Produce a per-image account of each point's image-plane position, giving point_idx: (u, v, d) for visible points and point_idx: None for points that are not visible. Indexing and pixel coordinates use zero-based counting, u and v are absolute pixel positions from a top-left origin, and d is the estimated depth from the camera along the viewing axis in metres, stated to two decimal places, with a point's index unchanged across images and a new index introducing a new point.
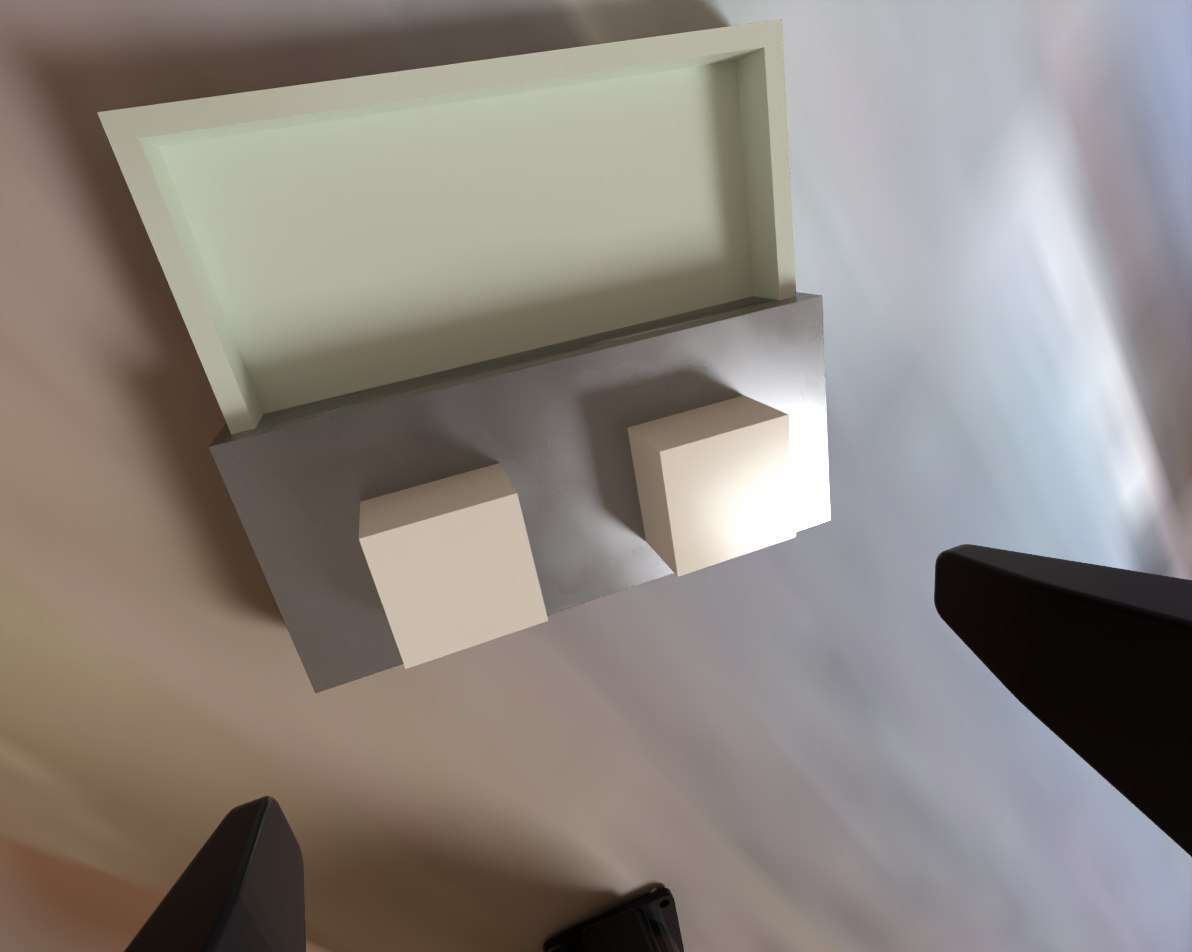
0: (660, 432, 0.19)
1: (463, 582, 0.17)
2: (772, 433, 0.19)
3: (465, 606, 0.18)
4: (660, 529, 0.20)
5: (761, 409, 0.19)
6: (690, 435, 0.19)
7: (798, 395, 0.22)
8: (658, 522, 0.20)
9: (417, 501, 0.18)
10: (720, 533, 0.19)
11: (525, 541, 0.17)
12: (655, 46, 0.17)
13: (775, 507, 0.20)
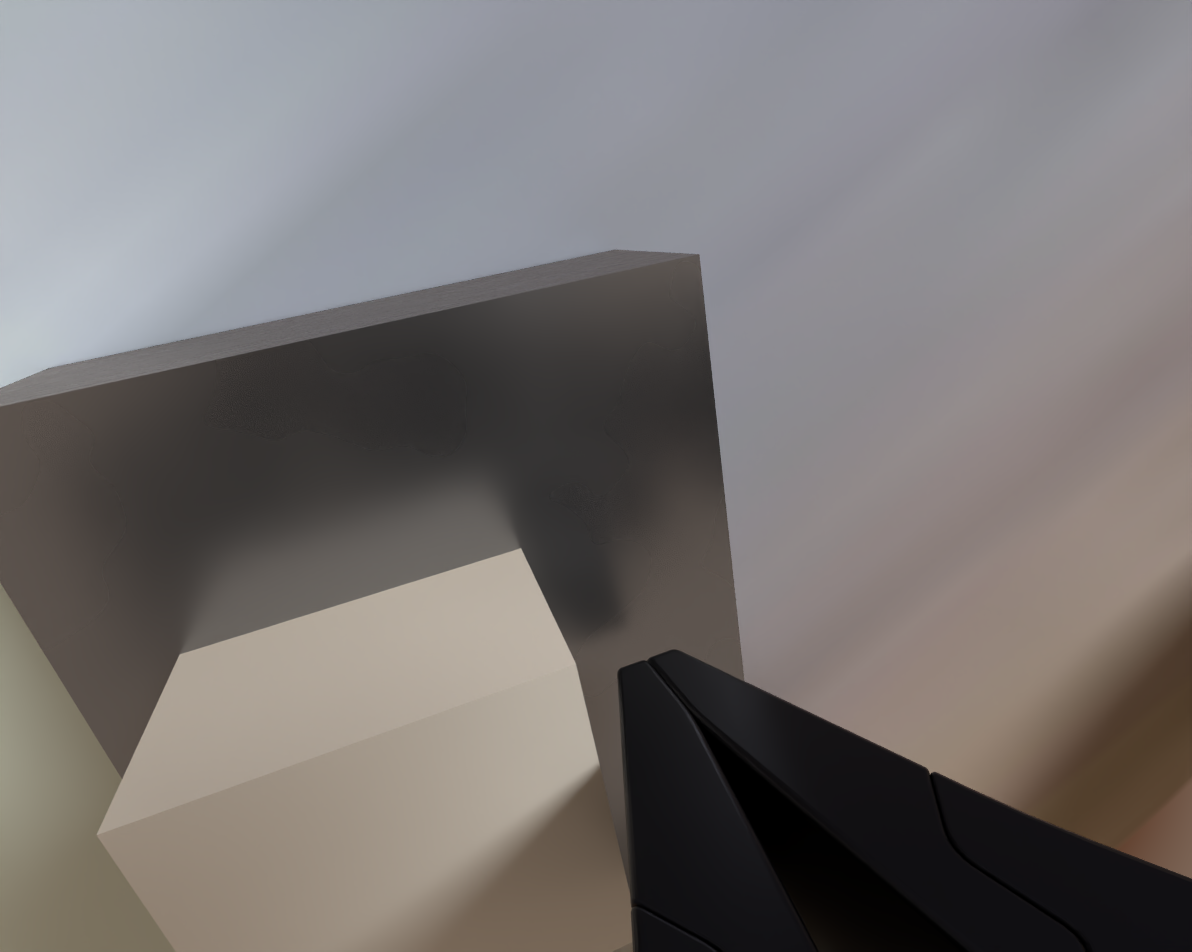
0: None
1: None
2: (184, 861, 0.05)
3: None
4: None
5: None
6: None
7: (289, 445, 0.07)
8: None
9: None
10: (532, 888, 0.07)
11: None
12: None
13: (462, 764, 0.06)
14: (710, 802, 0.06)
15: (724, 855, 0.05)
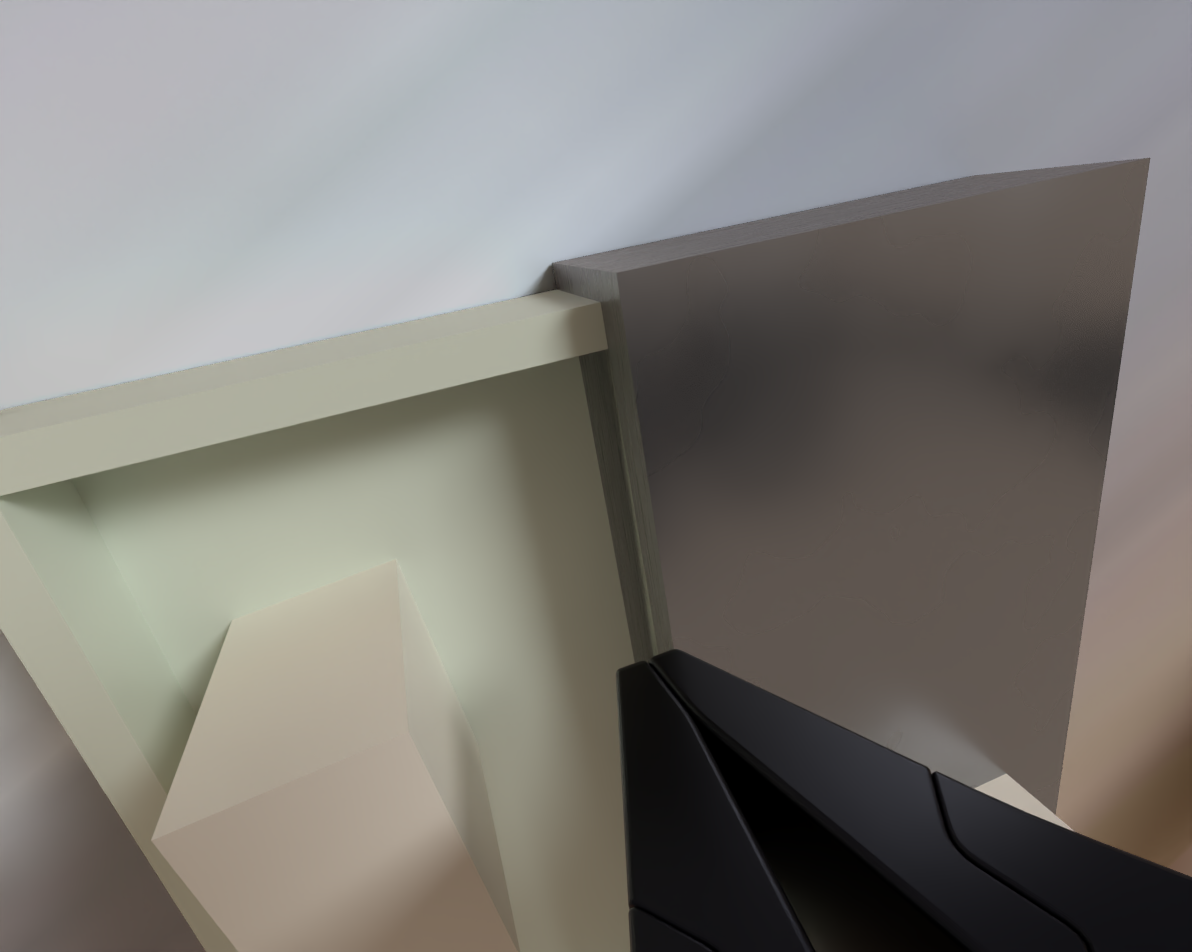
0: None
1: None
2: None
3: None
4: None
5: None
6: None
7: (846, 307, 0.08)
8: None
9: None
10: None
11: None
12: (96, 741, 0.08)
13: None
14: (708, 802, 0.06)
15: (722, 855, 0.05)
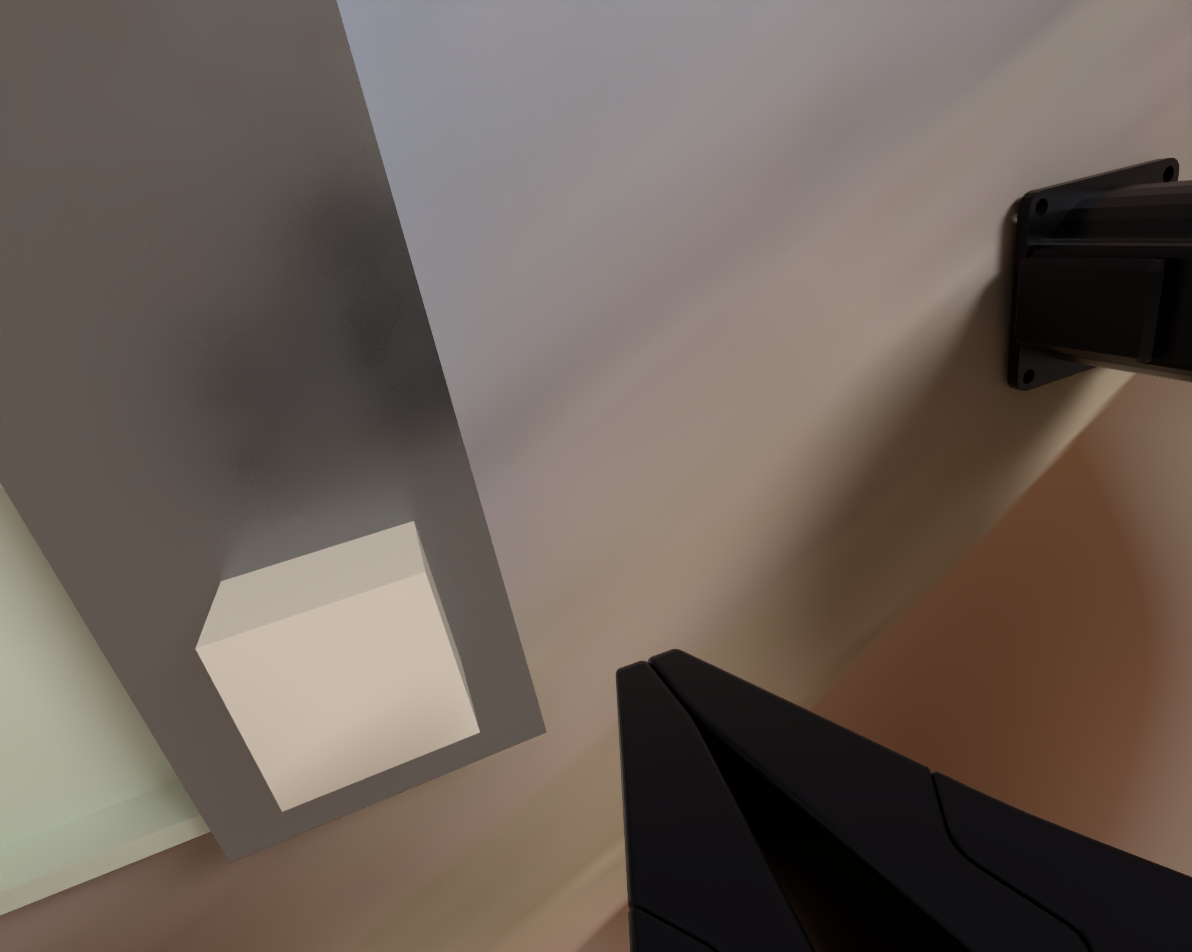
0: None
1: (351, 691, 0.13)
2: None
3: (391, 681, 0.13)
4: None
5: None
6: None
7: None
8: None
9: None
10: None
11: (281, 625, 0.12)
12: None
13: None
14: (708, 803, 0.06)
15: (722, 856, 0.05)
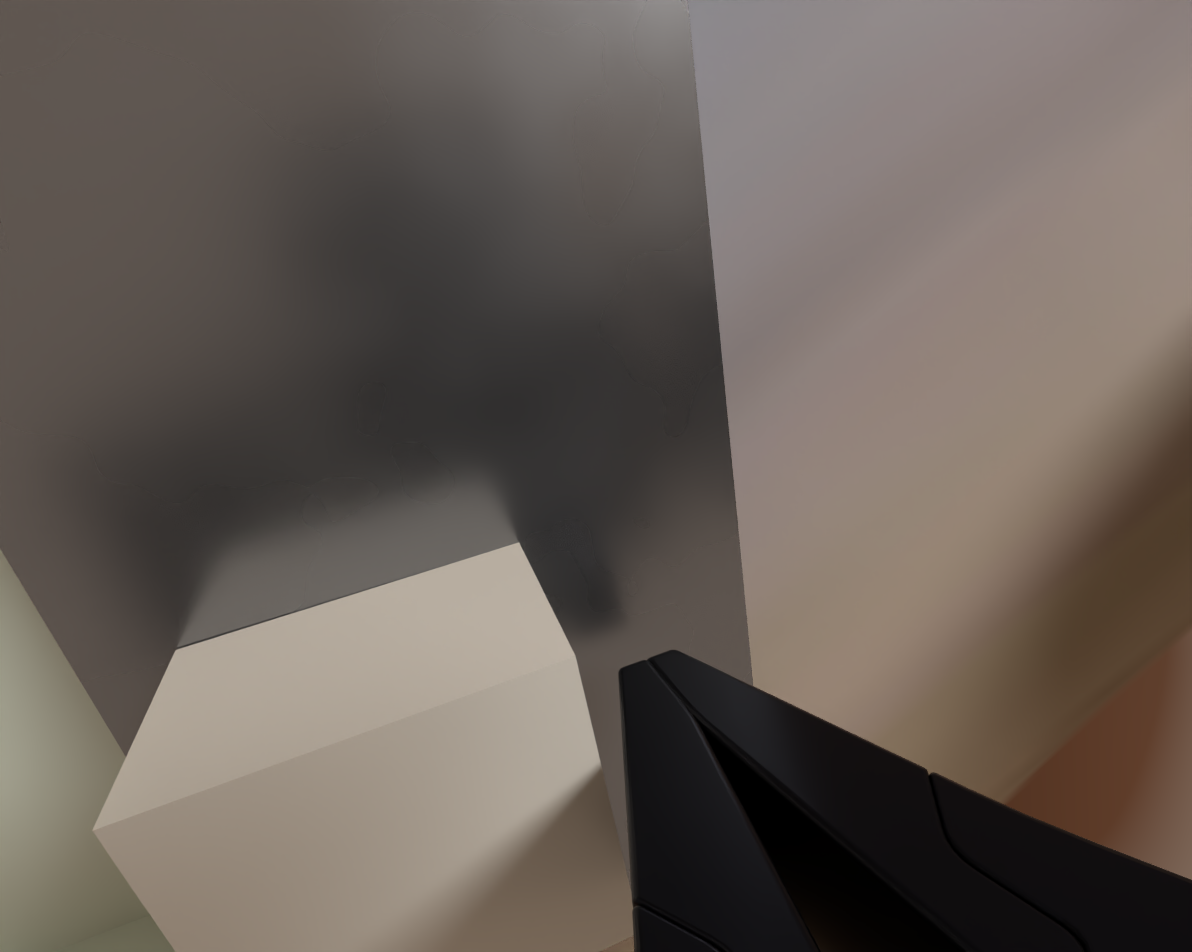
0: None
1: (418, 885, 0.06)
2: None
3: (495, 862, 0.07)
4: None
5: None
6: None
7: None
8: None
9: None
10: None
11: (282, 772, 0.05)
12: None
13: None
14: (711, 801, 0.06)
15: (725, 854, 0.05)
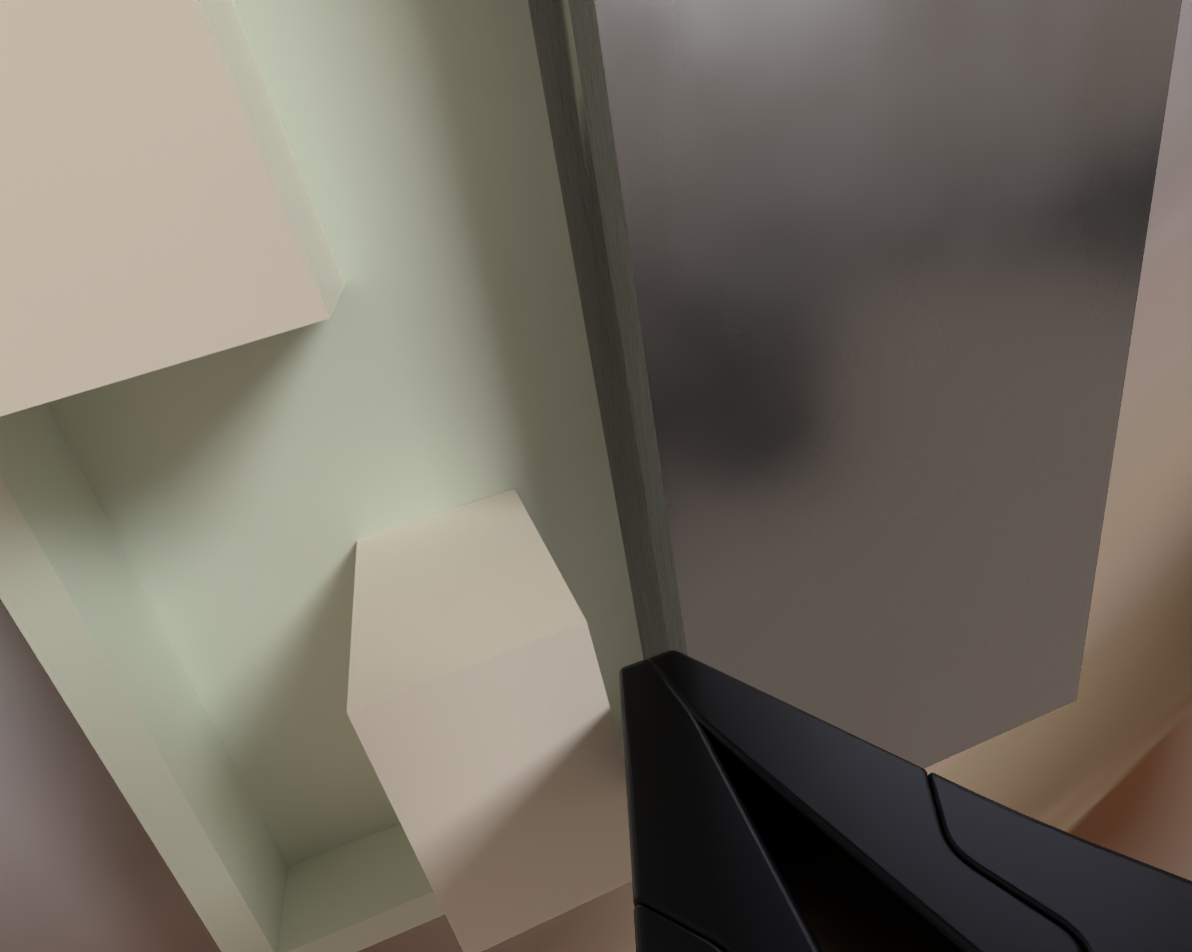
0: None
1: None
2: None
3: None
4: None
5: None
6: None
7: None
8: None
9: None
10: None
11: None
12: None
13: None
14: (713, 801, 0.06)
15: (727, 854, 0.05)
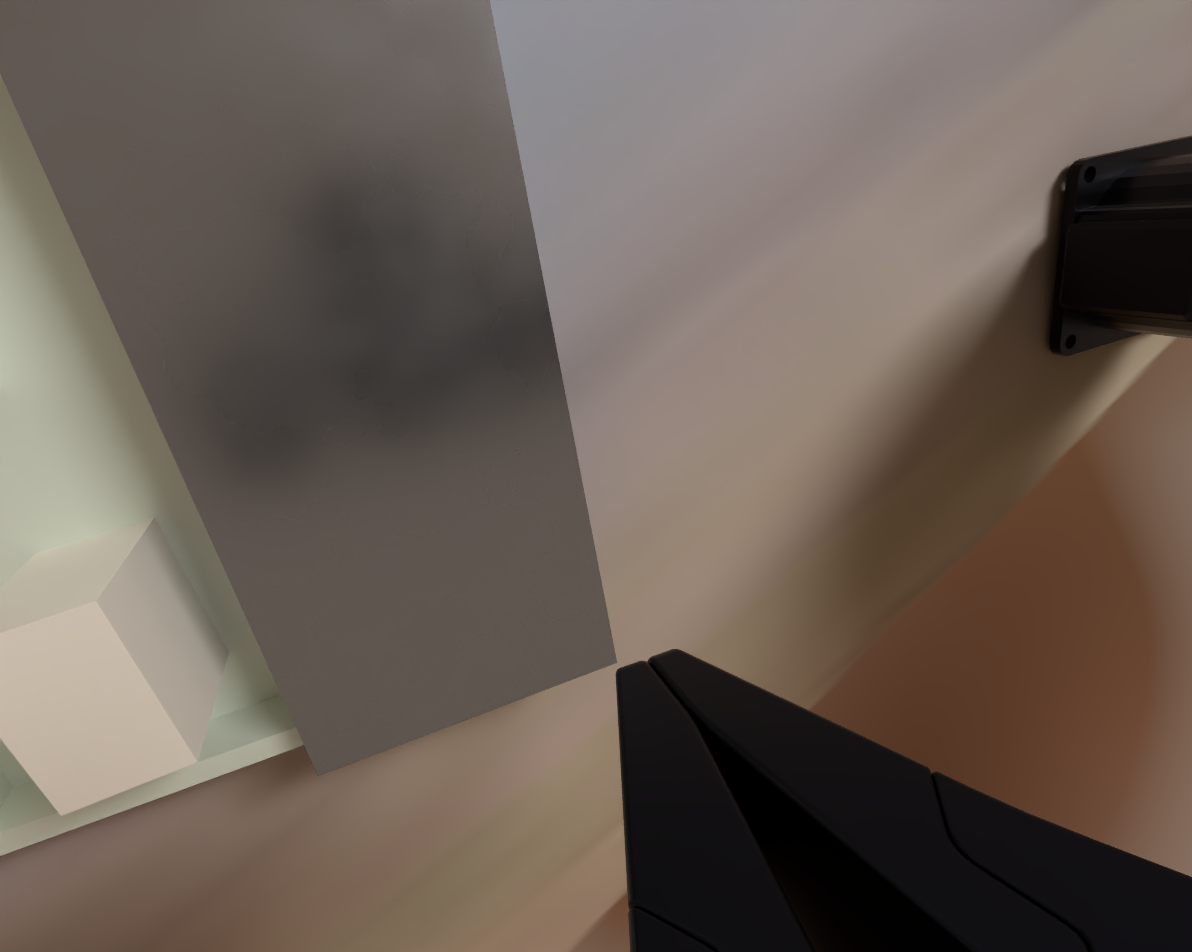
0: None
1: None
2: None
3: None
4: None
5: None
6: None
7: None
8: None
9: None
10: None
11: None
12: None
13: None
14: (708, 803, 0.05)
15: (722, 856, 0.05)
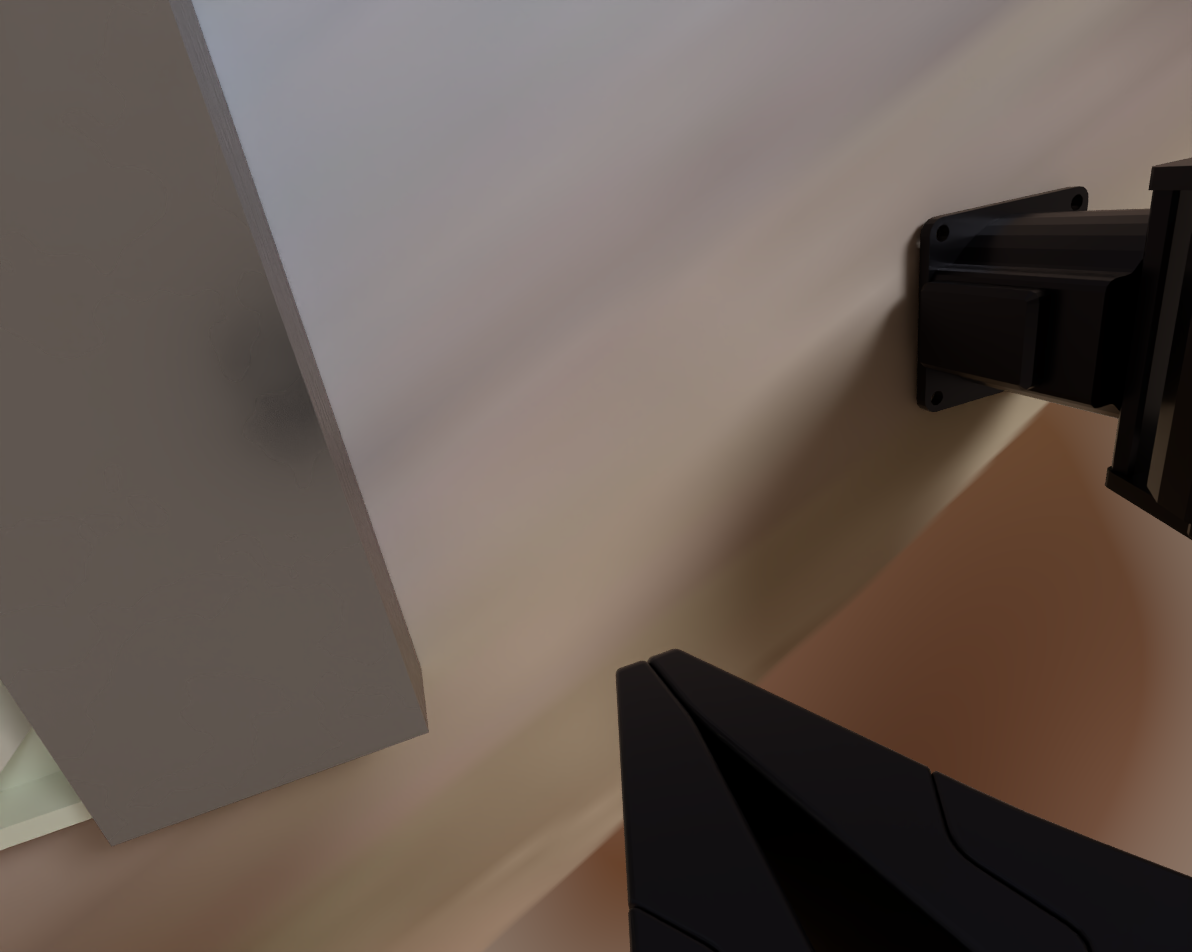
0: None
1: None
2: None
3: None
4: None
5: None
6: None
7: None
8: None
9: None
10: None
11: None
12: None
13: None
14: (708, 803, 0.05)
15: (722, 856, 0.05)
